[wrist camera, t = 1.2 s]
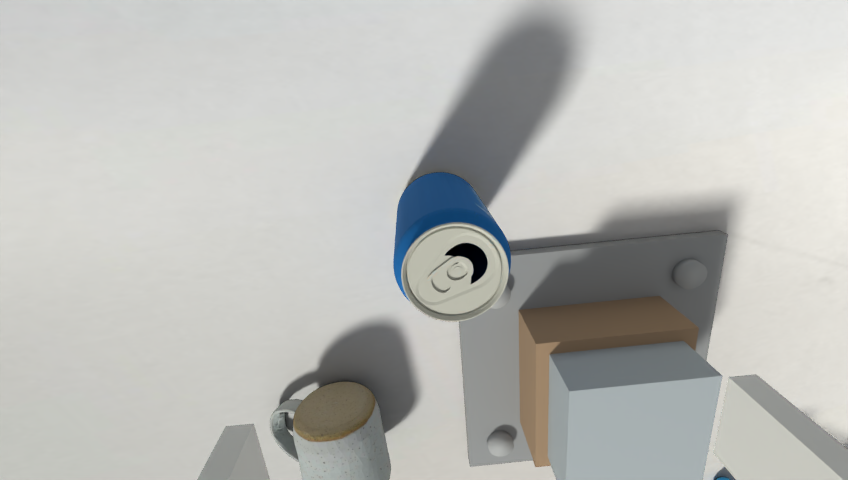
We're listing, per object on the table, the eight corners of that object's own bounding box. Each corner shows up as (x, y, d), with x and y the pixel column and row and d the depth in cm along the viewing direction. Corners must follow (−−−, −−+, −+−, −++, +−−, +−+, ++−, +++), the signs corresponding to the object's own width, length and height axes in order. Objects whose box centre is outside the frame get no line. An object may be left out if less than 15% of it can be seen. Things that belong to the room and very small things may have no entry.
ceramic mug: (379, 369, 38) (371, 436, 30) (393, 439, 40) (388, 514, 33) (265, 384, 38) (229, 453, 31) (286, 451, 41) (259, 529, 34)
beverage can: (495, 215, 33) (541, 280, 22) (433, 264, 34) (446, 349, 23) (444, 152, 31) (465, 188, 20) (380, 207, 32) (366, 269, 21)
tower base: (454, 256, 34) (472, 320, 25) (719, 230, 34) (837, 283, 25) (468, 458, 42) (486, 565, 32) (685, 436, 42) (766, 536, 32)
